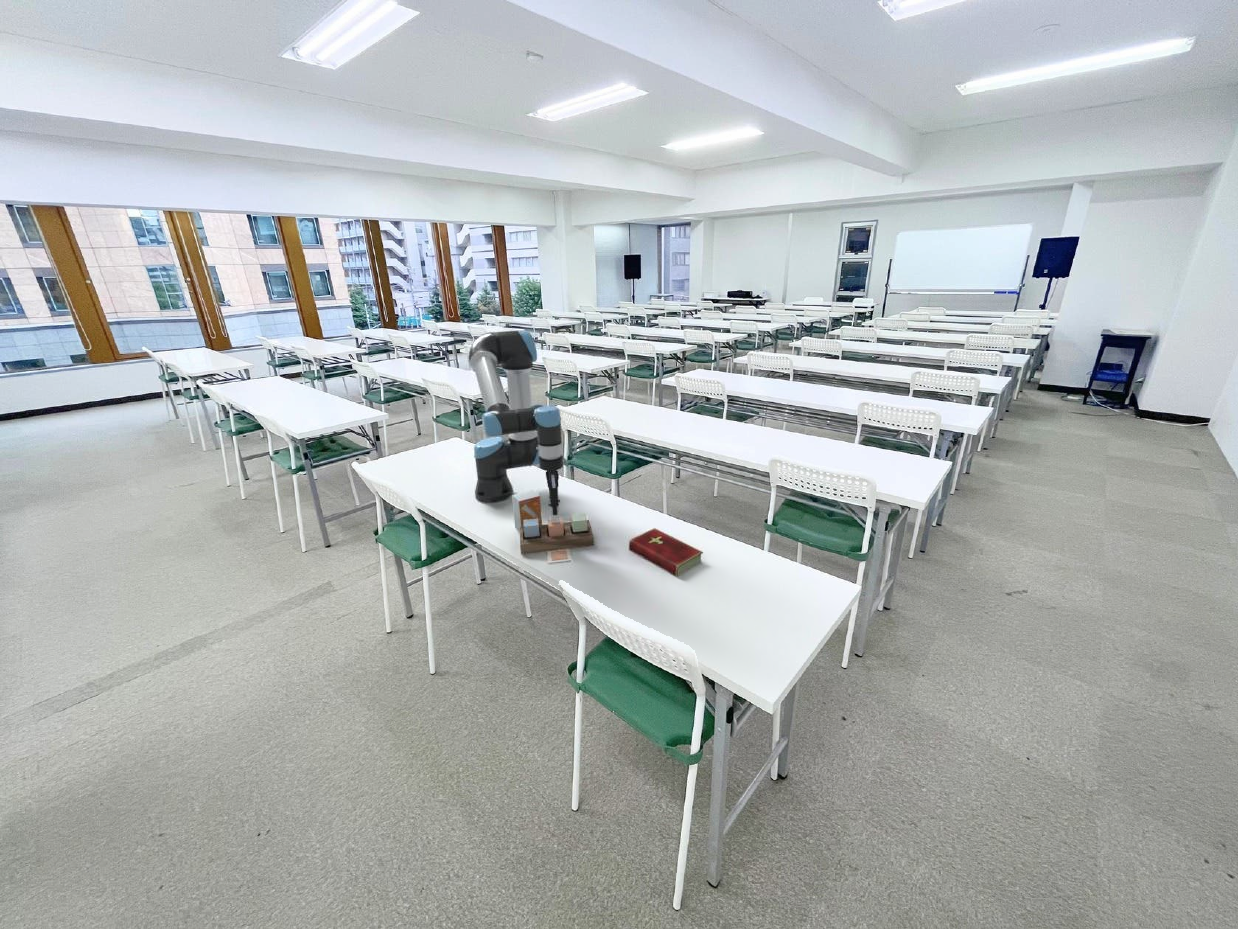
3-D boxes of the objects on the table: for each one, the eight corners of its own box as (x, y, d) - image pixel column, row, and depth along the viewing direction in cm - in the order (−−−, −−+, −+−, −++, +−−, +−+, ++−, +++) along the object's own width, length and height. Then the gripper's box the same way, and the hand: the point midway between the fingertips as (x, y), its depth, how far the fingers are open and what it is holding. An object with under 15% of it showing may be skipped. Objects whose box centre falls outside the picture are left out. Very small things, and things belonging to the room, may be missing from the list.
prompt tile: (547, 552, 161) (547, 550, 161) (568, 549, 163) (568, 548, 162) (548, 563, 155) (548, 562, 155) (571, 561, 156) (571, 559, 156)
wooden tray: (520, 536, 171) (519, 527, 170) (589, 528, 176) (588, 519, 174) (521, 554, 160) (520, 544, 159) (594, 545, 165) (593, 536, 163)
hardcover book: (676, 578, 148) (677, 566, 146) (628, 550, 162) (628, 539, 161) (702, 562, 155) (703, 551, 154) (654, 538, 170) (654, 527, 168)
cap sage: (571, 527, 170) (571, 514, 168) (585, 526, 171) (585, 513, 169) (573, 534, 166) (572, 521, 164) (587, 532, 166) (587, 519, 165)
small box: (521, 535, 172) (518, 501, 167) (514, 527, 177) (511, 494, 172) (543, 528, 176) (540, 495, 171) (535, 521, 181) (532, 489, 176)
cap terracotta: (548, 532, 169) (547, 519, 167) (562, 531, 170) (561, 518, 168) (549, 539, 165) (548, 526, 163) (564, 538, 165) (563, 525, 164)
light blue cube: (524, 532, 167) (523, 519, 165) (538, 531, 168) (537, 518, 166) (524, 539, 163) (523, 526, 161) (539, 538, 164) (538, 525, 162)
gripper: (537, 449, 162) (543, 514, 170) (539, 463, 150) (545, 532, 159) (560, 448, 163) (564, 512, 172) (564, 461, 151) (568, 530, 160)
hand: (555, 521), depth 165 cm, fingers closed
